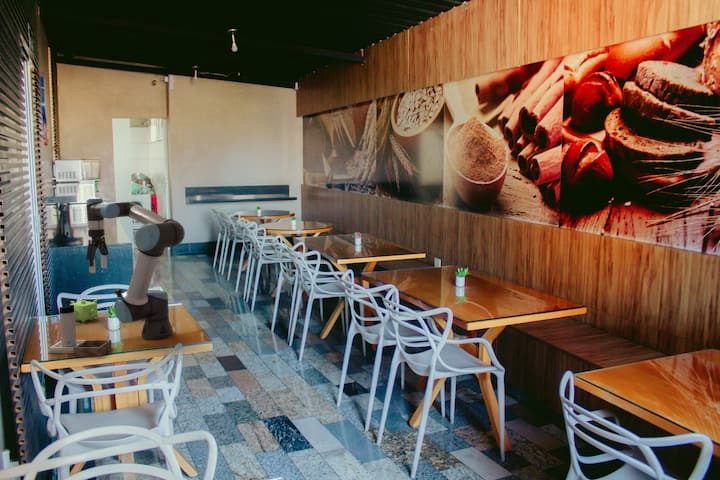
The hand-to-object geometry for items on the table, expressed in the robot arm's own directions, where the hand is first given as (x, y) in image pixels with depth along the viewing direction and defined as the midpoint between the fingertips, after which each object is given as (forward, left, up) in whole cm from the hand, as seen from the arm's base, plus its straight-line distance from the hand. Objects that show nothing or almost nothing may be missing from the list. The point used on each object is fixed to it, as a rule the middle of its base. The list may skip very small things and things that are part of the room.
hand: (98, 270), depth 296 cm
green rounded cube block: (+20, -25, -33) cm, 46 cm away
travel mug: (+4, +26, -32) cm, 41 cm away
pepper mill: (-5, -28, -33) cm, 44 cm away
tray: (+4, +26, -33) cm, 42 cm away
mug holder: (-9, +31, -33) cm, 46 cm away
